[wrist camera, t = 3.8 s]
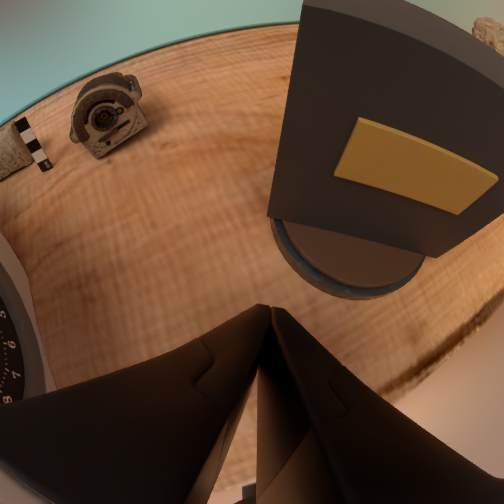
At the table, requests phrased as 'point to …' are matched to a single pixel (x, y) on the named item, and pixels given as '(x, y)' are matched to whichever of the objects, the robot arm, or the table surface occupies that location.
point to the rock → (490, 33)
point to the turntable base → (322, 280)
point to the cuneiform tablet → (20, 148)
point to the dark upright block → (387, 139)
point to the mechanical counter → (107, 113)
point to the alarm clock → (19, 335)
